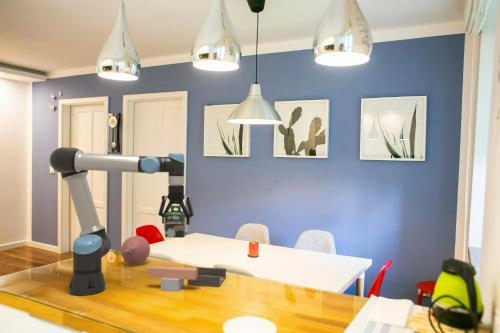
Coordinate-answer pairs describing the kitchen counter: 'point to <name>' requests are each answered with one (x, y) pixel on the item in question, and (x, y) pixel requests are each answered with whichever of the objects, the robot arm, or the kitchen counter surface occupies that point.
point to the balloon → (135, 250)
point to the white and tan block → (171, 284)
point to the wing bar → (173, 272)
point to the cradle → (209, 277)
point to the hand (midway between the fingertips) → (175, 230)
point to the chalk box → (175, 223)
